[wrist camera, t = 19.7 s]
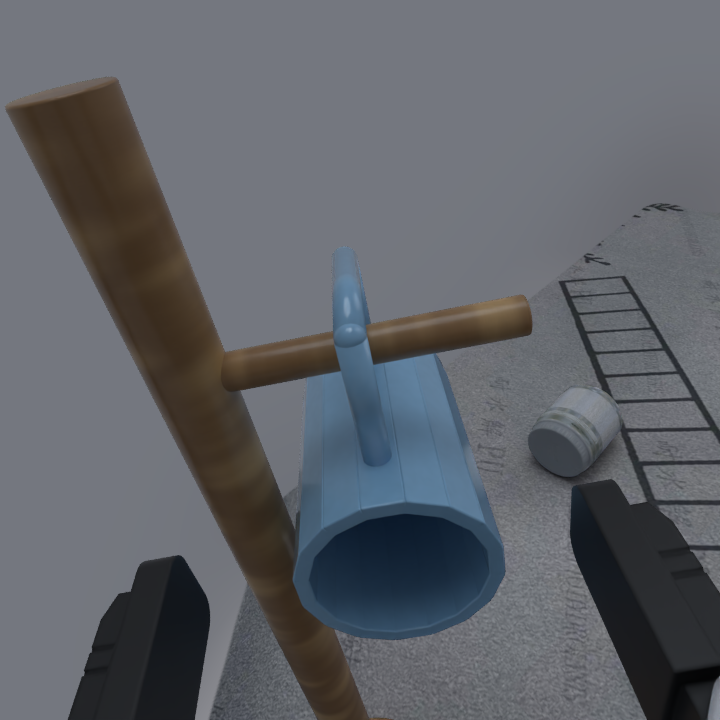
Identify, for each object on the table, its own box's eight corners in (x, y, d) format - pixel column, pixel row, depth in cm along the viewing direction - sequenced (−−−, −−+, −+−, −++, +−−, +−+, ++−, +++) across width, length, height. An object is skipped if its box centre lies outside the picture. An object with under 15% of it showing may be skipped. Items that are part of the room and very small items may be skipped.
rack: (318, 889, 33) (-265, 185, 9) (318, 736, 40) (-22, 96, 16) (558, 855, 32) (599, -7, 8) (517, 705, 39) (475, -16, 15)
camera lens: (580, 491, 53) (620, 442, 56) (591, 446, 49) (633, 396, 52) (521, 458, 56) (563, 414, 60) (526, 414, 52) (570, 369, 56)
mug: (452, 430, 27) (509, 623, 19) (322, 453, 27) (320, 652, 19) (423, 207, 21) (487, 339, 13) (258, 240, 22) (215, 390, 13)
